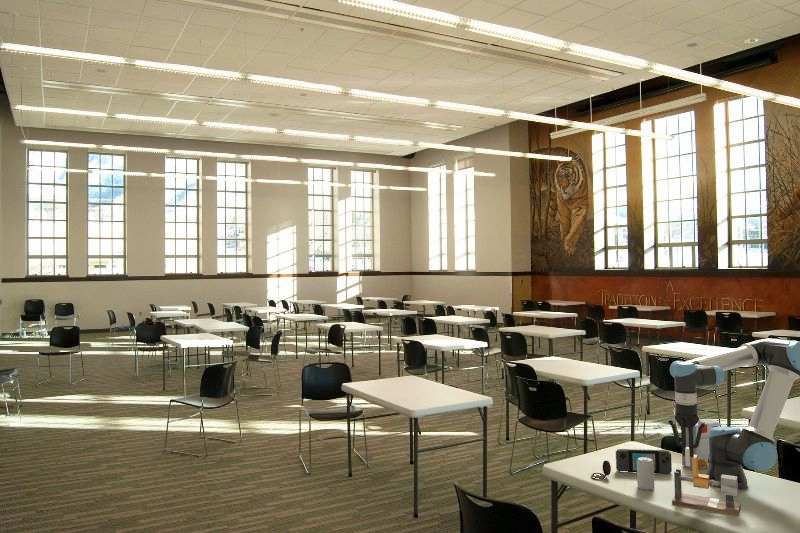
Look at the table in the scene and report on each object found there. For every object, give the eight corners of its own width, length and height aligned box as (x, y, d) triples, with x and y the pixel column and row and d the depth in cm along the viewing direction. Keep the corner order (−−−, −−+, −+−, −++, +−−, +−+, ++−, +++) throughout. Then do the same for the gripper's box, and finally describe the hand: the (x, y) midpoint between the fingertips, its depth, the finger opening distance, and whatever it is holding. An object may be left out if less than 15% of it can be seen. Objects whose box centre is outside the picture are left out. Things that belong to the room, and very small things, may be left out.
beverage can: (637, 490, 244) (636, 460, 244) (637, 485, 250) (636, 456, 250) (654, 491, 241) (653, 461, 242) (654, 486, 248) (653, 457, 248)
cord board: (676, 496, 236) (675, 465, 237) (740, 506, 224) (739, 474, 224) (671, 504, 228) (670, 472, 228) (738, 516, 216) (737, 482, 216)
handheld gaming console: (617, 473, 266) (616, 450, 266) (616, 471, 268) (615, 448, 269) (672, 474, 262) (671, 451, 262) (670, 472, 264) (669, 449, 264)
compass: (588, 476, 262) (587, 459, 262) (605, 475, 263) (604, 458, 263) (596, 482, 254) (596, 465, 254) (614, 481, 255) (613, 463, 256)
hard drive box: (696, 471, 265) (694, 425, 266) (681, 466, 272) (680, 422, 273) (720, 465, 272) (719, 421, 272) (706, 461, 279) (704, 418, 279)
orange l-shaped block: (695, 483, 230) (694, 454, 231) (709, 485, 228) (708, 456, 228) (693, 487, 226) (692, 457, 227) (707, 489, 224) (706, 459, 224)
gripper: (665, 403, 231) (668, 465, 230) (703, 406, 223) (705, 470, 223) (669, 399, 237) (671, 459, 236) (706, 402, 229) (708, 465, 229)
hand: (688, 465), depth 230 cm, fingers closed
